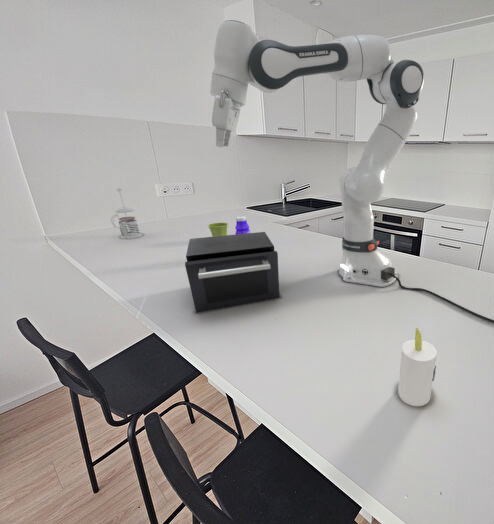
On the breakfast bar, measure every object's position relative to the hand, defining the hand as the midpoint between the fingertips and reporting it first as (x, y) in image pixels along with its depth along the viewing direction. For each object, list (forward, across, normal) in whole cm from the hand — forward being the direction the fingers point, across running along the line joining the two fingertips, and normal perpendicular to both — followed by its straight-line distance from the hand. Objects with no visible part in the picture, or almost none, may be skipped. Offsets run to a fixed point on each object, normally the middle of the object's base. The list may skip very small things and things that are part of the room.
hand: (222, 146), depth 83 cm
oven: (+44, -1, -10) cm, 45 cm away
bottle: (+45, +35, -10) cm, 58 cm away
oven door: (+44, -12, -12) cm, 47 cm away
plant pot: (+49, +60, +4) cm, 78 cm away
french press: (+61, +79, +50) cm, 112 cm away
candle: (+34, -56, -47) cm, 81 cm away
